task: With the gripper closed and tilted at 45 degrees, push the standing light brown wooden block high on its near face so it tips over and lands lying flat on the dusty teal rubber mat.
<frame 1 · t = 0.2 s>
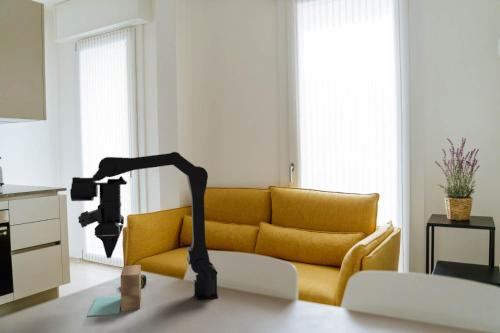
hand: (110, 253, 117), 15 cm above the table, fingers open, 9 cm apart
tape measure: (134, 287, 134), on the table
light brown wooden block: (131, 303, 118), on the table
mat: (106, 305, 117), on the table
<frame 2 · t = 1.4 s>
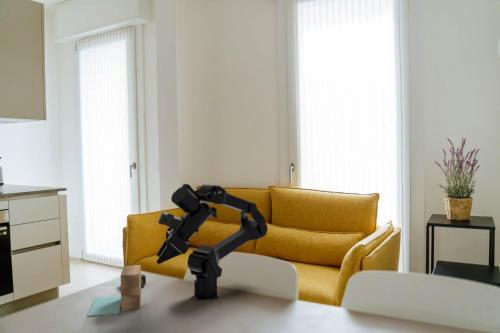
hand: (157, 259, 120), 12 cm above the table, fingers open, 8 cm apart
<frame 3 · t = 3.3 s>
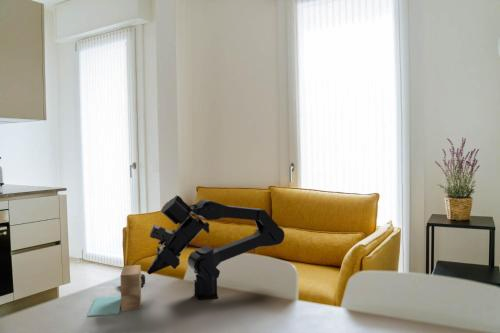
hand: (148, 273, 119), 9 cm above the table, fingers closed
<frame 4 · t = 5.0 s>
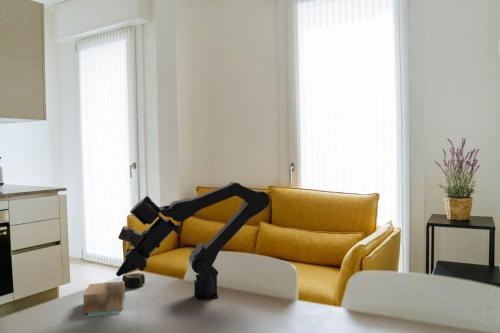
hand: (117, 275, 117), 9 cm above the table, fingers closed
light brown wooden block: (123, 294, 118), point 3 cm above the table, tilted 90°, touching mat
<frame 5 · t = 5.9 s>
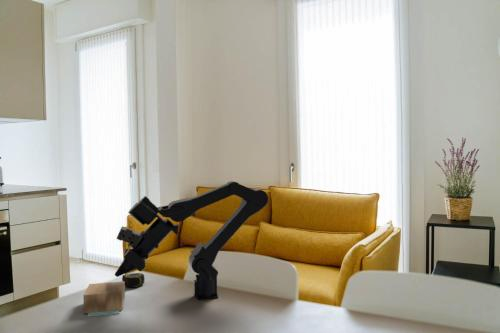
hand: (115, 275, 117), 9 cm above the table, fingers closed
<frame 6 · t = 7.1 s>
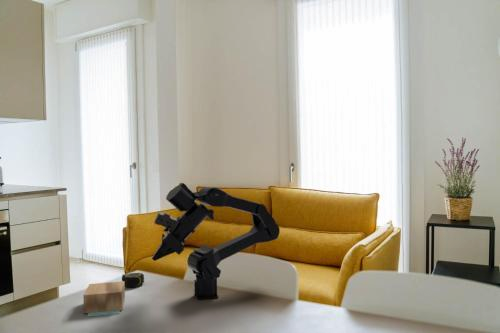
hand: (153, 259, 120), 12 cm above the table, fingers closed
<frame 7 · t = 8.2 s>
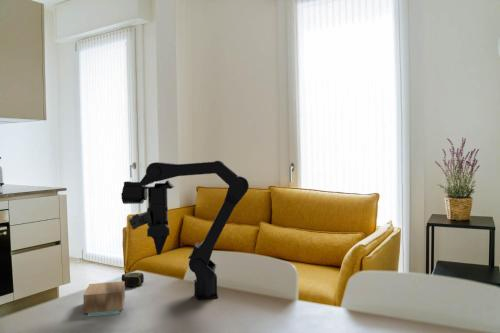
hand: (158, 254, 124), 13 cm above the table, fingers closed
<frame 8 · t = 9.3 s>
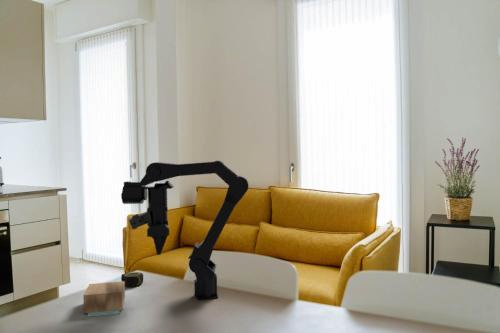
hand: (158, 254, 124), 13 cm above the table, fingers closed
at the end: light brown wooden block tilted 90°; light brown wooden block inside the target area (3.2 cm from its centre), point 2.8 cm above the table; light brown wooden block touching mat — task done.
